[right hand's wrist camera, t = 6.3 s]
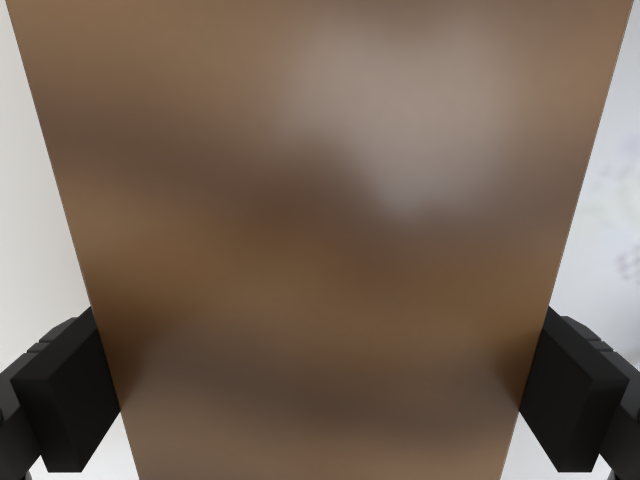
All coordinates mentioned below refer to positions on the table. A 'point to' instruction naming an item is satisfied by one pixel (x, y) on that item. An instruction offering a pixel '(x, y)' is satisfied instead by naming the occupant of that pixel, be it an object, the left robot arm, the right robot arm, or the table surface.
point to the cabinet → (319, 218)
